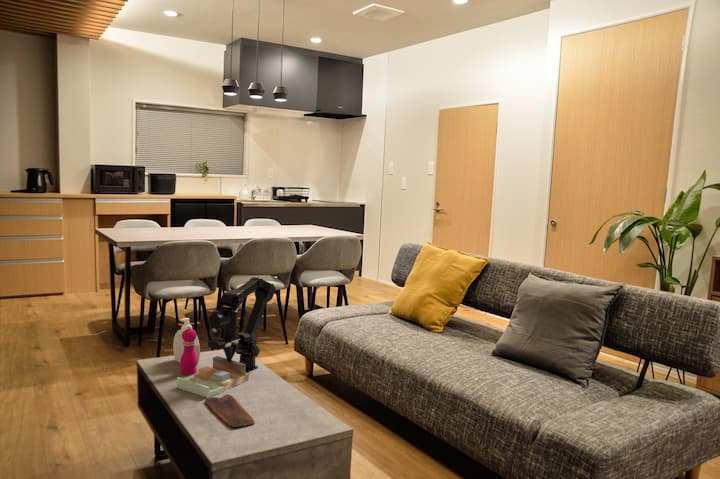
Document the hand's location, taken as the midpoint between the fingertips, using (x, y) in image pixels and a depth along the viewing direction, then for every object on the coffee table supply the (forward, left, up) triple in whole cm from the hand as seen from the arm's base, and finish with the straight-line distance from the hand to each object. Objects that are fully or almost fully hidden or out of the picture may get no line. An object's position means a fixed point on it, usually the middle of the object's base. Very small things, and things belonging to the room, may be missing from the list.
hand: (229, 361), depth 223 cm
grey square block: (+8, +4, -4) cm, 10 cm away
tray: (+15, 0, -7) cm, 17 cm away
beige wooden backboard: (+4, 0, -7) cm, 8 cm away
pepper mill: (+5, -18, -8) cm, 20 cm away
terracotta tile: (+8, -4, -4) cm, 10 cm away
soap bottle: (-2, -28, -8) cm, 29 cm away
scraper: (0, 0, -4) cm, 4 cm away
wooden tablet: (+18, +26, -7) cm, 32 cm away
